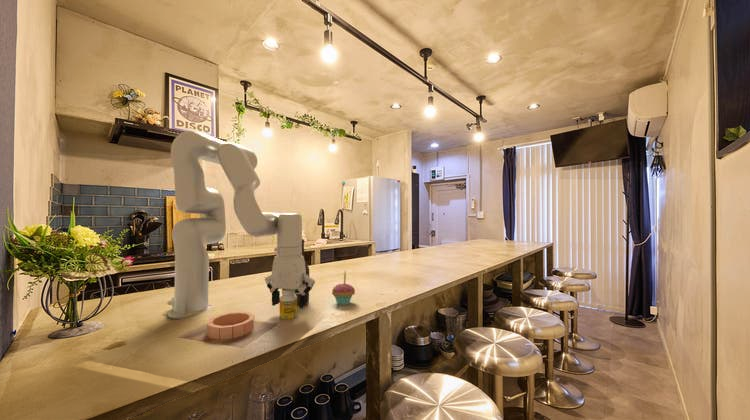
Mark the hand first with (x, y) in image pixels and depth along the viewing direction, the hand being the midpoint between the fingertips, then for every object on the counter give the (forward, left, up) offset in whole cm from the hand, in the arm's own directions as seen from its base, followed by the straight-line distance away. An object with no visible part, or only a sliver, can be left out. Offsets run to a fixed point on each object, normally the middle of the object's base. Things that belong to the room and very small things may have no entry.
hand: (289, 305), depth 88 cm
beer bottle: (-5, +15, -5) cm, 17 cm away
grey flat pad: (-9, -14, -4) cm, 17 cm away
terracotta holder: (-9, -14, -3) cm, 17 cm away
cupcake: (+11, +20, -5) cm, 23 cm away
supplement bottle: (0, 0, -5) cm, 5 cm away
